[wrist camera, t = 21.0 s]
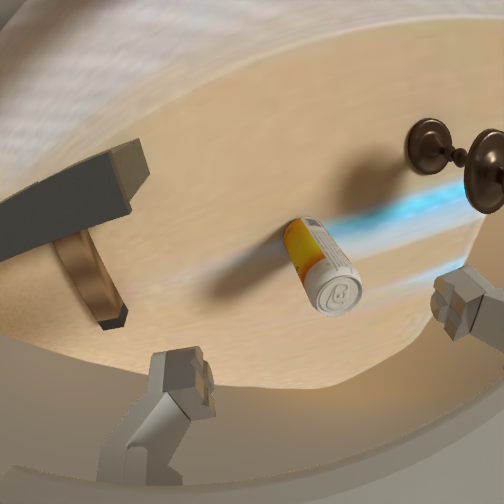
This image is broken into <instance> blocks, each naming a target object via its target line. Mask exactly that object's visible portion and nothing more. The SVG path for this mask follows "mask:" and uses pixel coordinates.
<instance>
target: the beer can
mask: <svg viewBox="0 0 504 504" xmlns="http://www.w3.org/2000/svg"><path fill="white" fill-rule="evenodd" d="M283 240H284V245H285V247H286V249H287V251H288V254H289V256H290V258H291V260H292V262H293V264H294V267H295V269H296V271H297V273H298V275H299V278H300V280H301V282H302V284H303V287H304V289H305V291H306V293H307V296H308V298H309V300H310V302H311V304H312V306H313V307H314V308H315V309H316V310H318V311H319V312H320V313H322V314H323V315H326V316H331V317H335V316H340V315H343V314H345V313H347V312H349V311H350V310H352V309H353V308H354V307H355V306H356V305H357V304H358V302H359V301H360V299H361V297H362V293H363V288H362V280H361V277H360V275H359V273H358V272H357V271H356V269H355V268H354V267H353V265H352V264H351V262H350V261H349V260H348V258H347V257H346V256H345V254H344V253H343V252H342V250H341V249H340V248H339V246H338V245H337V244H336V243H335V241H334V240H333V239H332V237H331V236H330V235H329V233H328V232H327V231H326V230H325V228H324V227H323V226H322V224H321V223H320V222H319V221H318V220H316V219H314V218H311V217H302V218H299V219H296V220H295V221H293V222H292V223H291V224H290V225H289V226H288V227H287V228H286V230H285V233H284V237H283Z"/></svg>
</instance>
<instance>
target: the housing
mask: <svg viewBox="0 0 504 504" xmlns="http://www.w3.org/2000/svg"><path fill="white" fill-rule="evenodd" d="M149 175H150V172H149V169H148V166H147V163H146V160H145V156H144V153H143V150H142V147H141V143H140V140H139V138H138V139H135V140H132V141H129V142H127V143H124V144H121V145H119V146H116V147H113V148H111V149H108V150H106V151H103V152H101V153H98V154H96V155H93V156H91V157H89V158H86V159H84V160H82V161H79V162H77V163H75V164H73V165H70V166H68V167H67V168H65V169H63V170H62V171H60V172H58V173H56V174H54V175H52V176H50V177H48V178H46V179H44V180H42V181H40V182H38V181H37V182H36V183H34V184H32V185H30V186H28V187H26V188H24V189H22V190H21V191H19V192H17V193H15V194H13V195H12V196H10V197H8V198H6V199H5V200H3V201H1V202H0V262H2V261H4V260H6V259H9V258H11V257H13V256H16V255H18V254H21V253H23V252H26V251H28V250H31V249H33V248H36V247H38V246H41V245H43V244H46V243H49V242H51V241H54V240H56V239H59V238H62V237H65V236H67V235H70V234H73V233H76V232H78V231H81V230H84V229H87V228H90V227H93V226H96V225H98V224H101V223H104V222H107V221H110V220H113V219H116V218H120V217H123V216H126V215H129V214H130V213H131V211H132V208H131V206H130V203H129V202H130V200H131V199H132V197H133V196H134V195H135V193H136V192H137V191H138V189H139V188H140V187H141V185H142V184H143V183H144V181H145V180H146V179H147V177H148V176H149Z"/></svg>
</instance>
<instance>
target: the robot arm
mask: <svg viewBox="0 0 504 504" xmlns="http://www.w3.org/2000/svg"><path fill="white" fill-rule="evenodd" d="M433 287H434V288H435V292H434V293H433V295H432V296H431V302H430V306H431V311H432V313H433V315H434V317H435V318H436V319H437V321H439V322H441V323H444V330H445V331H446V332H447V334H448V335H449V336H450V338H451V339H452V340H453V341H455V340H457V339H459V338H461V337H463V336H465V335H467V334H469V333H470V334H471V335H472V336H474V337H476V338H478V339H480V340H481V341H483V342H485V343H487V344H489V345H490V346H492V347H494V348H496V349H498V350H499V351H501V352H503V353H504V289H501V288H498V287H497V288H494V287H493V286H492V285H491V284H490V283H489V282H488V281H487V280H486V279H485V278H484V277H482V276H481V275H480V274H479V273H478V272H477V271H476V270H475V269H474V268H473V267H471V266H469V265H465V266H463V267H461V268H458V269H456V270H453V271H451V272H448V273H446V274H444V275H441V276H439V277H437V278H436V279H435V281H434V286H433ZM502 368H503V369H504V362H503V364H502ZM213 390H214V380H213V375H212V371H211V368H210V366H209V364H208V362H207V361H205V360H203V352H202V350H201V349H200V347H199V346H194V347H188V348H182V349H176V350H169V351H164V352H157V353H153V355H152V357H151V362H150V368H149V375H148V383H147V390H146V394H144V395H141V397H140V398H139V399H138V400H137V401H136V403H135V404H134V405H133V406H132V408H131V409H130V410H129V412H128V413H127V414H126V415H125V416H124V417H123V419H122V420H121V421H120V423H119V424H118V425H117V426H116V427H115V429H114V430H113V431H112V432H111V433H110V435H109V436H108V437H107V438H106V440H105V441H104V442H103V443H102V445H101V449H100V455H99V462H98V470H97V478H96V481H90V480H84V479H77V478H71V477H66V476H60V475H55V474H51V473H47V472H42V471H38V470H35V469H31V468H27V467H24V466H20V465H12V466H10V467H9V468H8V469H6V470H5V471H4V472H3V473H2V474H1V475H0V504H504V376H503V377H502V378H500V379H499V380H498V381H496V382H495V383H493V384H492V385H490V386H489V387H488V388H486V389H484V390H483V391H481V392H480V393H478V394H477V395H475V396H474V397H472V398H470V399H469V400H467V401H466V402H464V403H462V404H461V405H459V406H457V407H456V408H454V409H452V410H450V411H448V412H447V413H445V414H443V415H441V416H439V417H437V418H436V419H434V420H432V421H430V422H428V423H426V424H424V425H422V426H420V427H418V428H416V429H414V430H411V431H409V432H407V433H405V434H403V435H400V436H398V437H396V438H393V439H391V440H389V441H386V442H384V443H381V444H379V445H376V446H374V447H371V448H368V449H366V450H363V451H360V452H357V453H354V454H352V455H349V456H345V457H342V458H339V459H336V460H333V461H330V462H326V463H322V464H319V465H315V466H311V467H307V468H303V469H299V470H295V471H291V472H286V473H282V474H276V475H271V476H266V477H260V478H254V479H247V480H240V481H232V482H224V483H212V484H199V485H183V479H182V478H183V477H182V475H181V474H180V473H179V472H177V471H176V470H174V469H173V468H171V467H170V466H168V463H169V462H170V460H171V458H172V456H173V455H174V453H175V451H176V449H177V447H178V446H179V444H180V442H181V440H182V438H183V437H184V435H185V433H186V431H187V429H188V427H189V426H190V424H191V421H194V420H200V419H207V418H213V417H216V409H215V399H214V397H213V396H212V394H211V393H212V391H213Z"/></svg>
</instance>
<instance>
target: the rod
mask: <svg viewBox="0 0 504 504" xmlns="http://www.w3.org/2000/svg"><path fill="white" fill-rule="evenodd" d="M52 242H53V244H54V246H55V248H56V250H57V252H58V254H59V256H60V258H61V260H62V262H63V263H64V265H65V267H66V269H67V271H68V273H69V275H70V276H71V278H72V280H73V282H74V284H75V285H76V287H77V289H78V291H79V292H80V294H81V296H82V297H83V299H84V301H85V302H86V304H87V306H88V307H89V309H90V311H91V312H92V314H93V315H94V317H95V318H96V320H97V322H98V323H99V325H100V326H101V328H102V329H103V331H104V330H109V329H115V328H120V327H124V324H125V321H126V317H127V314H128V309H127V307H126V305H125V304H124V302H123V300H122V298H121V296H120V295H119V293H118V291H117V289H116V287H115V285H114V283H113V282H112V280H111V278H110V276H109V274H108V272H107V270H106V268H105V266H104V264H103V262H102V260H101V258H100V256H99V254H98V252H97V249H96V247H95V245H94V243H93V241H92V239H91V237H90V234H89V232H88V230H87V229H84V230H81V231H78V232H76V233H73V234H70V235H67V236H65V237H62V238H59V239H56V240H54V241H52Z"/></svg>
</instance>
